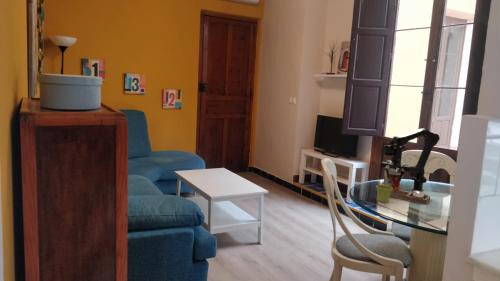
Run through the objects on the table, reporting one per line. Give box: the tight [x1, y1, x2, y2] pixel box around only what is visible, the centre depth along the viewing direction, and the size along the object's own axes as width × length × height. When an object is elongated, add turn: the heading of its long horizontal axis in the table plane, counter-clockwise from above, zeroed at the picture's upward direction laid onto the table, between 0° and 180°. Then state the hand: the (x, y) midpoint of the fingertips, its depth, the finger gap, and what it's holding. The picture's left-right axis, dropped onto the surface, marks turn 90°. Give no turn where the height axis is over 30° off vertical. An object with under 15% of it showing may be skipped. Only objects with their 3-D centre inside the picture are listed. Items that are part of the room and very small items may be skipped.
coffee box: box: [383, 159, 397, 186], centre depth 280 cm, size 9×6×16 cm
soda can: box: [387, 171, 401, 190], centre depth 260 cm, size 7×7×12 cm
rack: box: [390, 189, 431, 205], centre depth 245 cm, size 12×22×2 cm, turn 56°
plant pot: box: [375, 184, 393, 203], centre depth 235 cm, size 9×9×9 cm
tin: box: [412, 190, 425, 199], centre depth 242 cm, size 6×6×5 cm
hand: (394, 179), depth 260 cm, fingers closed on soda can, 7 cm apart
